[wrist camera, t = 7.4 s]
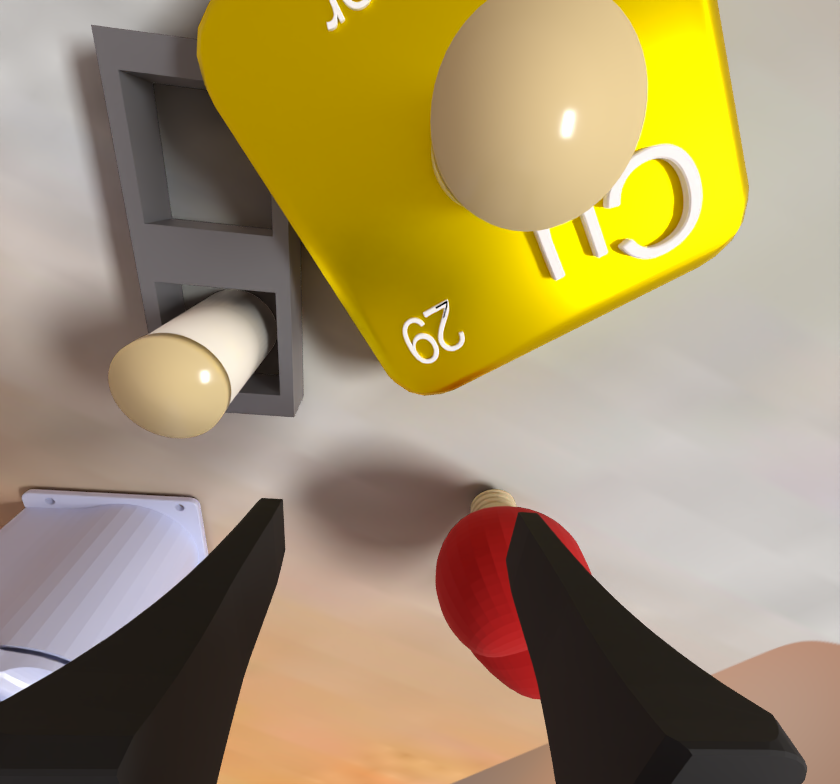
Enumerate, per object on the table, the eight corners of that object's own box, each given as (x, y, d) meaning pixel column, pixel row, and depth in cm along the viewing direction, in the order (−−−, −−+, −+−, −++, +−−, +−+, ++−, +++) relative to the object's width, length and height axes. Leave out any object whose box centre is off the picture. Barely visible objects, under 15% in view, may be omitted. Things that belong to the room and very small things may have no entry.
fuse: (203, 359, 21) (120, 434, 15) (193, 284, 20) (96, 334, 13) (279, 364, 21) (230, 441, 15) (276, 291, 20) (218, 343, 14)
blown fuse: (422, 204, 14) (417, 216, 8) (438, 71, 13) (448, -43, 7) (529, 220, 15) (607, 243, 8) (558, 90, 13) (683, -3, 7)
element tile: (588, -213, 14) (675, -394, 9) (692, 227, 20) (773, 240, 15) (217, 63, 16) (151, 22, 12) (409, 374, 22) (411, 420, 18)
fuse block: (184, 387, 22) (162, 407, 20) (130, 44, 16) (91, 25, 14) (303, 396, 22) (294, 417, 20) (296, 66, 16) (282, 50, 14)
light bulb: (399, 471, 25) (398, 637, 16) (507, 413, 23) (574, 560, 14) (475, 566, 28) (510, 744, 19) (572, 521, 27) (658, 691, 18)
